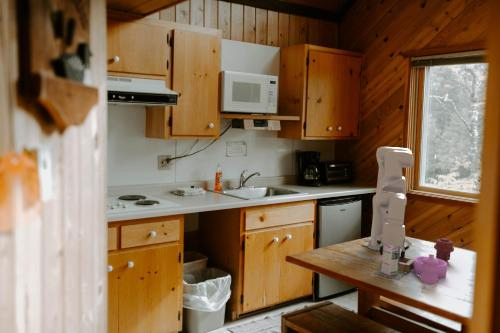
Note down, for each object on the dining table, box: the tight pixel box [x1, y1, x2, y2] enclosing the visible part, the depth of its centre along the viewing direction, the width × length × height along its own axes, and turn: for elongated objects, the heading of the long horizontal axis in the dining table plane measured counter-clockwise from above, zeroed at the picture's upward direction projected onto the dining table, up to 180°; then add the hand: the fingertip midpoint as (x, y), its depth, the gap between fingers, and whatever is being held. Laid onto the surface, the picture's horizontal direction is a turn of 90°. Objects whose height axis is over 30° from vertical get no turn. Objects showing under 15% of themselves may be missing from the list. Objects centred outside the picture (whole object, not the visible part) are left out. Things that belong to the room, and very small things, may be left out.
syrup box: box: [381, 244, 401, 275], centre depth 235 cm, size 6×6×14 cm
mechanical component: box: [433, 237, 455, 263], centre depth 260 cm, size 12×10×10 cm
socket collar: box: [380, 256, 415, 274], centre depth 247 cm, size 14×14×4 cm
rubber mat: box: [373, 267, 407, 281], centre depth 235 cm, size 12×12×1 cm
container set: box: [412, 253, 448, 285], centre depth 234 cm, size 25×15×13 cm, turn 159°
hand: (391, 256), depth 234 cm, fingers open, 9 cm apart
